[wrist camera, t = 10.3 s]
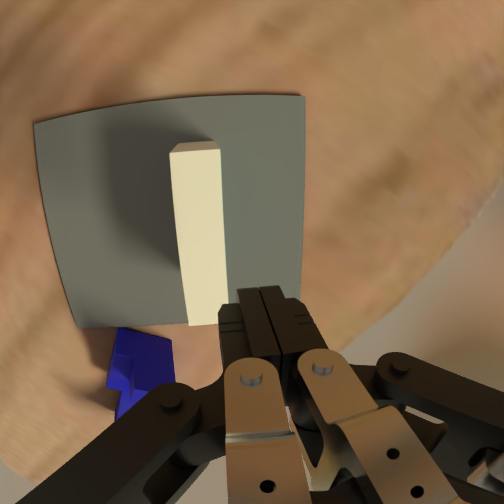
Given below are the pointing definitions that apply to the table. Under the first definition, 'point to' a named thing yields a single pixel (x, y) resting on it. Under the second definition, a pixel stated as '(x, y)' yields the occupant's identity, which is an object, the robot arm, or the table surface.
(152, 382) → the blue u-shaped bracket
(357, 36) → the table surface
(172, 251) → the mat
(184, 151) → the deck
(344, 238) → the table surface
